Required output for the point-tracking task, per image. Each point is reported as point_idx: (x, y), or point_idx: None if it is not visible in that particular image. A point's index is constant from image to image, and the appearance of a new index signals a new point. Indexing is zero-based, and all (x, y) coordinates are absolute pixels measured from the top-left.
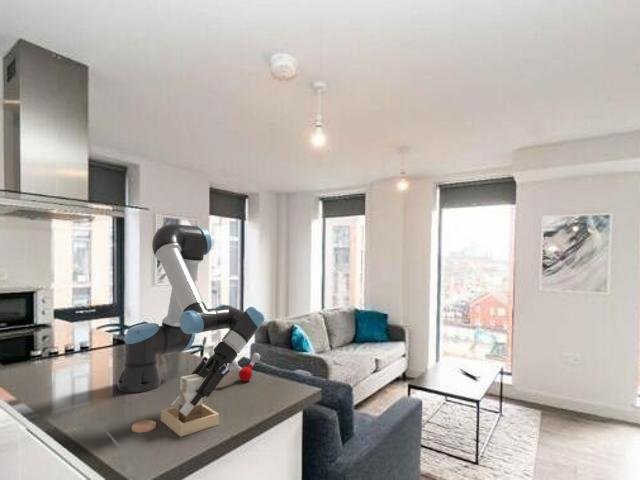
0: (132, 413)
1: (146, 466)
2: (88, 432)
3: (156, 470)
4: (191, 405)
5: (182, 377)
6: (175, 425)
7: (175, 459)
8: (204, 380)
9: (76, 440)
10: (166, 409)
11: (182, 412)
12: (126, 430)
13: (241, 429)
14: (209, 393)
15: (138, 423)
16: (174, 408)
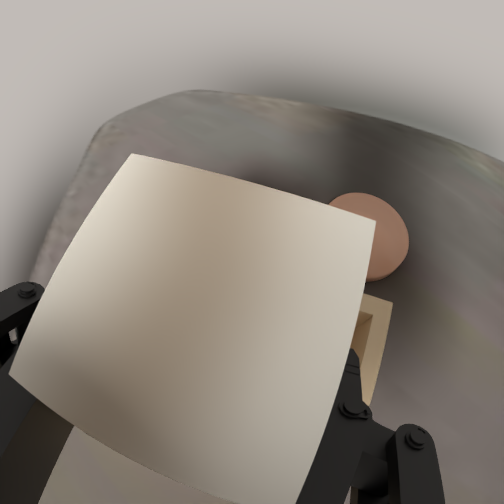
0: (500, 305)
1: (153, 118)
2: (447, 162)
3: (121, 121)
4: None
5: (333, 216)
6: None
7: (103, 163)
8: (29, 396)
9: (419, 129)
10: (377, 322)
11: None
12: (395, 206)
13: None
14: (12, 343)
15: (392, 228)
16: (360, 366)
